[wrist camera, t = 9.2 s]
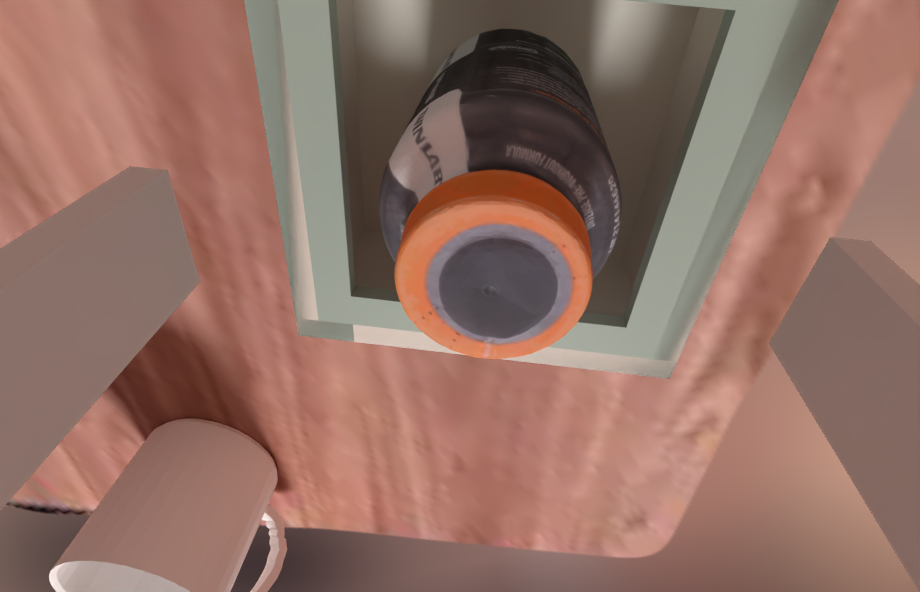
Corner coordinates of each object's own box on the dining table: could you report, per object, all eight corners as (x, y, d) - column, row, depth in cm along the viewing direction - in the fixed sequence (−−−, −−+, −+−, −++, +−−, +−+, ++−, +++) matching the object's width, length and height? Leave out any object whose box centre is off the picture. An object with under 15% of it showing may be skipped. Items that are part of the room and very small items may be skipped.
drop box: (351, 236, 24) (298, 335, 18) (326, -127, 16) (219, -153, 10) (633, 267, 23) (669, 378, 17) (750, -92, 15) (883, -99, 10)
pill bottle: (400, 66, 18) (282, 206, 9) (561, -5, 17) (608, 83, 8) (463, 207, 21) (420, 416, 12) (604, 160, 20) (674, 364, 11)
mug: (123, 436, 35) (15, 576, 28) (214, 400, 32) (119, 548, 24) (244, 525, 41) (181, 661, 33) (331, 503, 37) (284, 648, 30)
